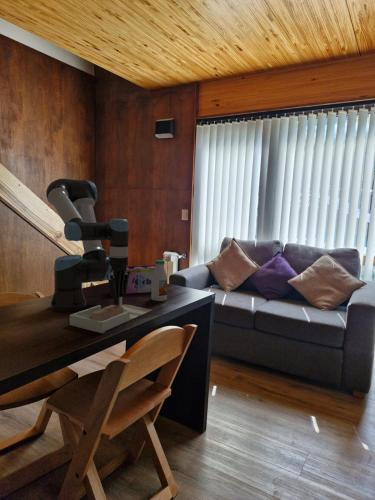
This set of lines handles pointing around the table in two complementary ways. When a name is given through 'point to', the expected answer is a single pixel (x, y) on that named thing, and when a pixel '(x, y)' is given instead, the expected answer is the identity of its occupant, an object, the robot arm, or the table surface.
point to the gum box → (140, 279)
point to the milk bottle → (159, 282)
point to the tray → (85, 321)
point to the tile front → (102, 314)
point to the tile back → (114, 309)
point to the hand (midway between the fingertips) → (118, 311)
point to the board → (134, 310)
